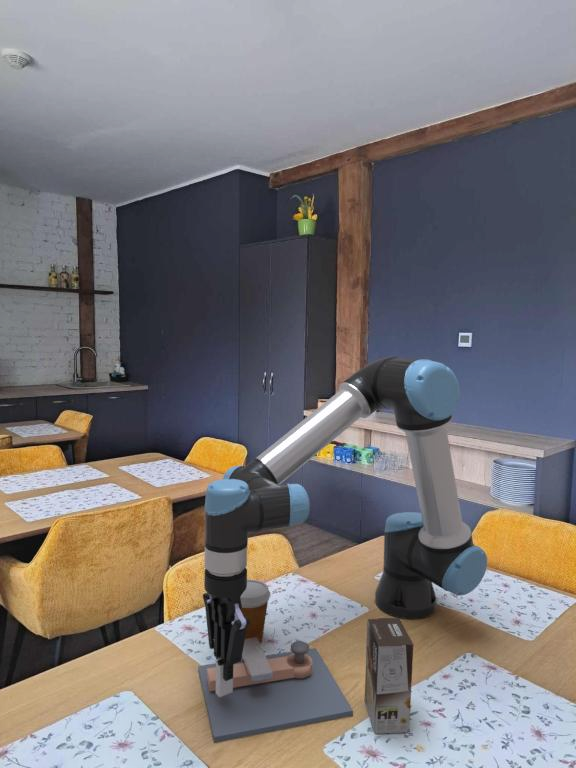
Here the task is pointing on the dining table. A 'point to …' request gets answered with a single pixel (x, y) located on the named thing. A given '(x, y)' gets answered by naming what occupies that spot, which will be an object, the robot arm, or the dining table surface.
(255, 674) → the block
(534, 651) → the dining table surface
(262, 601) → the disposable coffee cup
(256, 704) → the mount board
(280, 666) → the link
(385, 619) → the coffee box
